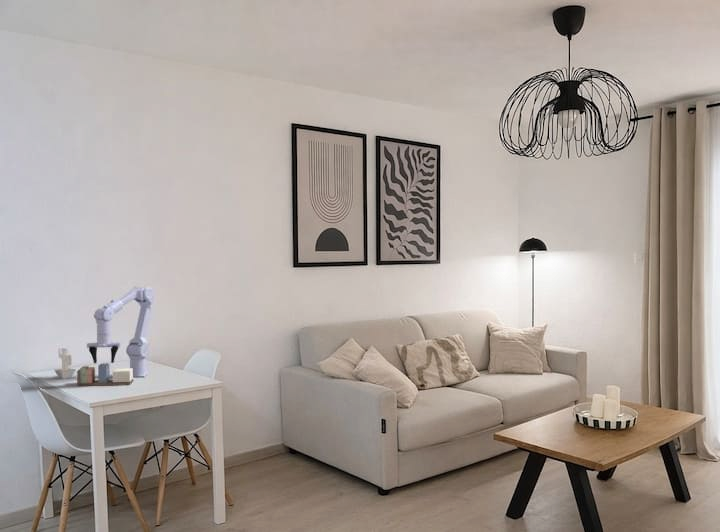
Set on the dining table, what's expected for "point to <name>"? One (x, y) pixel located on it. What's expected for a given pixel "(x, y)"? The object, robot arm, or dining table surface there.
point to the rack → (93, 378)
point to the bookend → (123, 375)
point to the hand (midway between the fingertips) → (103, 362)
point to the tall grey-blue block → (104, 373)
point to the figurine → (65, 364)
